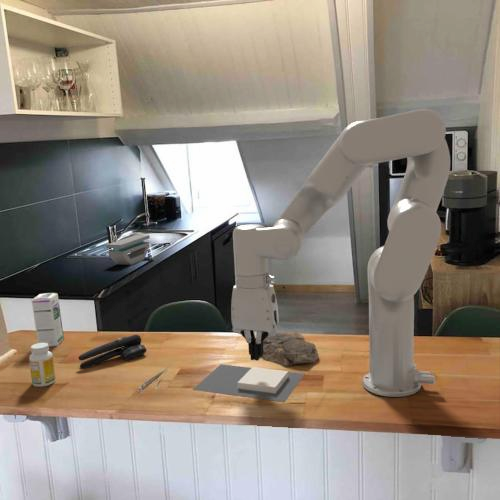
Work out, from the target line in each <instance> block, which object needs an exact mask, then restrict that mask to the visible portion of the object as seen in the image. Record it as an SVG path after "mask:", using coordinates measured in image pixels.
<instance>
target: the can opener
mask: <svg viewBox="0 0 500 500" xmlns="http://www.w3.org/2000/svg"><path fill="white" fill-rule="evenodd" d="M141 343H142V337H141V335H139V334H133V335H129V336H123V337H121V338H119V337H118V338H116V340H114V341H110V342H107V343H104V344H102V345H100V346H96V347H95V348H91V349H90V350H88V351H86V352H84V353H82V354H79V356H78V360H79V361H83V362H81V363H80V365H79V367H80V368H81V369H86V368H85V367H87V368H90V366H91V367H94V366H97V365H99V363H100V364H102V363H104V362H106V361H108V360H110V359H113V358H115V357H120V358H122V359H123V360H126V361H131V360H135V359H137V358H140V357H141V356H143V355H145V354H146V352H147V348H146V346H145V345H144V344H141ZM93 365H94V366H93Z"/></svg>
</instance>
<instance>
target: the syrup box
mask: <svg viewBox="0 0 500 500" xmlns="http://www.w3.org/2000/svg"><path fill="white" fill-rule="evenodd" d="M59 300H60V299H59V294H58V293H57V292H46V293H45V292H44V293H39V294H38V295H37V296H35V297H33V298H32V299H31V305H32V312H33V319H34V325H35V333H36V339H37V343H48V346H49V347H58V346H59V344H61V342H63V340H64V339H65V336H64V330H63V321H62V314H61V308H60V301H59Z"/></svg>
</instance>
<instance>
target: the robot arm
mask: <svg viewBox="0 0 500 500" xmlns="http://www.w3.org/2000/svg"><path fill="white" fill-rule="evenodd" d="M446 127H447V126H446V124H445V121H444V119H443V117H442V116H441V115H440V114H439V113H437V112H436V111H434V110H432V109H430V108H429V109H427V108H420V109H419V108H418V109H416V110H415V109H414V110H409V111H406V112H402V113H401V112H400V113H396V114H392V115H391V114H390V115H387V116H382V117H378V118H371V119H364V120H357V121H354V122H352V123H350V124H348V125H347V126H346V127H345V128H344V129H343V130H342V131H341V133H340V135H338V137H337V139H336V140H335V141H334V142H333V143H332V145H331V146H330V147H329V149H328V150H327V151H326V153H325V154H324V155H323V157H322V158H321V159H320V161H319V162H318V164H317V165H316V166H315V167H314V169H313V170H312V171H311V173H310V174H309V175H308V177H307V178H306V180H305V181H304V183H303V184H302V186H301V188H300V190H299V191H298V192H297V194H296V195H295V197H294V198H293V199H292V201H291V202H290V203H289V204H288V206H287V207H286V208H285V210H284V211H283V213H282V214H281V215H280V216H279V217H278V219H277V220H276V221H275V223H273V226H272V227H265V226H264V225H262V224H259V223H258V224H257V223H249V224H241V225H237V226H236V227H234V229H233V231H232V242H233V243H232V244H233V246H232V247H233V259H234V261H233V262H234V276H235V278H234V280H235V285H233V288H232V294H231V303H230V304H231V305H230V306H231V307H230V315H231V316H230V318H231V325H232V332H233V333H236V334H239V335H241V336H242V337H243V338H244V339H245V342H246V343H247V344H248V345H247V347H248V355H249V356H250V361H257V362H258V361H259V360H260V359H261V358H263V357H262V356H263V353H264V350H263V340H264V339H265V338H266V337H271V336H276V335H277V334H278V332H279V330H278V327H277V326H279V324H280V319H279V318H280V316H279V314H280V313H279V307H278V306H279V305H278V300H277V296H276V291H275V288H274V287H275V286H274V285H273V284H271V283H275V282H276V277H275V275H271V272H270V268H269V267H270V266H269V259H270V260H278V261H287V260H292V259H294V258H295V257H297V256H298V255H299V253H300V251H301V249H302V245H303V241H304V240H305V238H307V235H308V234H309V233H310V232H311V230H312V229H313V228H314V227H315V225H316V224H317V222H319V220H320V219H321V218H322V217H323V216H324V215H325V214H326V213H327V212H328V211H329V210H331V209H332V208H334V207H335V206H337V205H338V204H339V203H340V201H342V199H343V198H344V197H345V195H346V194H347V193H348V192H349V191H350V189H351V187H353V185H354V184H355V183H356V182H357V180H358V179H359V177H360V176H361V175H362V174H363V172H364V171H365V170H366V168H368V166H369V165H372V164H373V165H374V164H379V163H386V162H391V161H396V160H401V159H405V158H406V159H407V162H406V163H407V164H406V170H405V173H404V177H403V179H402V183H401V185H400V186H399V190H398V193H397V194H396V198H395V200H394V203H393V205H392V207H391V210H390V211H389V214H388V217H387V222H386V223H387V229H388V235H387V238H386V240H385V243H384V245H382V246H380V247H379V248H377V249H376V250H375V251H374V252H373V253H372V254H371V256H370V257H369V260H368V262H367V272H366V273H367V287H368V288H367V289H368V336H369V337H368V338H369V339H368V341H369V342H368V343H369V345H368V347H369V350H368V352H369V354H368V355H369V372H368V373H366V374H365V375H364V376H363V378H362V385H363V387H364V389H365V390H367V391H368V392H370V393H372V394H375V395H379V396H383V397H387V398H388V397H389V398H390V397H391V398H399V397H407V396H411V395H414V394H416V393H417V392H419V391H420V390H421V389H422V388H421V387H422V384H426V385H435V382H436V381H435V380H436V379H435V378H436V377H435V375H431V371H427V370H426V371H425V370H424V371H422V370H420V369H417V363H414V361H415V360H414V358H415V357H414V351H415V350H414V349H415V348H414V344H415V343H414V342H415V341H414V339H415V338H414V334H415V331H414V329H415V323H414V322H415V321H414V320H415V296H414V295H416V293H417V292H418V290H419V289H420V287H421V286H422V284H423V281H424V279H425V276H426V275H427V271H428V269H429V266H430V264H431V262H432V261H433V260H432V259H433V258H434V254H435V252H436V249H437V247H438V246H439V245H438V244H439V242H440V238H441V234H442V221H441V219H440V216H439V215H438V213H437V210H438V208H439V205H440V202H441V200H442V197H443V195H444V192H445V188H446V186H447V182H448V180H449V175H450V172H451V171H450V170H451V154H450V149H449V146H448V142H447V140H446V133H447V132H446V131H447V130H446V129H447V128H446Z"/></svg>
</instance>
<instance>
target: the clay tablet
mask: <svg viewBox="0 0 500 500" xmlns="http://www.w3.org/2000/svg"><path fill="white" fill-rule="evenodd" d="M305 339H306V338H305V337H304V336H303V335H302V334H301V333H299V332H297V331H295V332H290V331H289V332H286V331H278V334H277V335H276V336H271V337H266V338H265V339H264V340H263V350H264V353H263V356H262V357H261V358H263V359H265V361H269V362H272V363H276V364H280V365H281V366H283V367H292V366H293V365H299V364H312V363H314V362H317V360H318V358H319V356H320V355H319V353H318V349H317V346H316V344H315V343H314V342H310V341H307V340H305Z"/></svg>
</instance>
